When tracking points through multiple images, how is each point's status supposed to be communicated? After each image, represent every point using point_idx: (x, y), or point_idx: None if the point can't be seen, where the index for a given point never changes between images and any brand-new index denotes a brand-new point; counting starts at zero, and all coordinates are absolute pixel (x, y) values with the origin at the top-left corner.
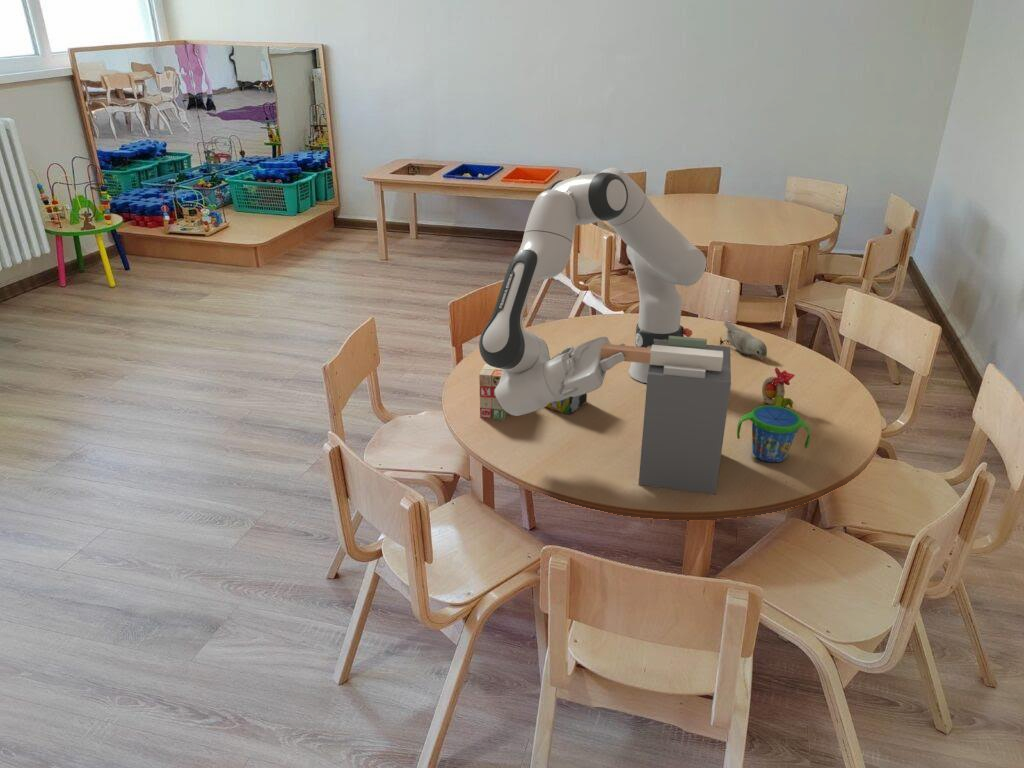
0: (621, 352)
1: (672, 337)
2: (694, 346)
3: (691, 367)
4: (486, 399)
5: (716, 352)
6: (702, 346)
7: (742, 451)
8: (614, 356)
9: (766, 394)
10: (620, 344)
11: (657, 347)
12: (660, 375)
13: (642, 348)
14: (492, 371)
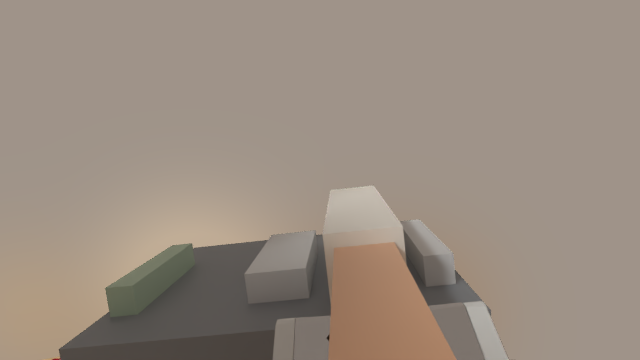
0: (459, 302)
1: (130, 280)
2: (181, 274)
3: (404, 231)
4: None
5: (343, 190)
6: (190, 264)
7: None
8: (506, 356)
9: None
10: (276, 342)
11: (351, 225)
12: (470, 287)
13: (350, 260)
14: None
